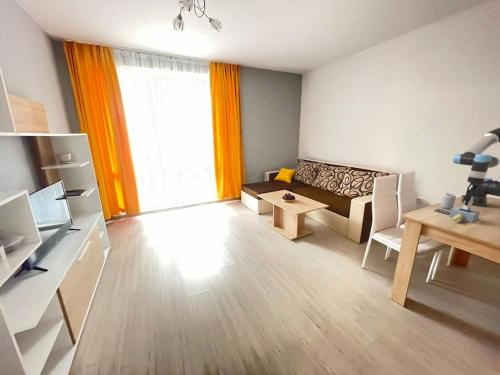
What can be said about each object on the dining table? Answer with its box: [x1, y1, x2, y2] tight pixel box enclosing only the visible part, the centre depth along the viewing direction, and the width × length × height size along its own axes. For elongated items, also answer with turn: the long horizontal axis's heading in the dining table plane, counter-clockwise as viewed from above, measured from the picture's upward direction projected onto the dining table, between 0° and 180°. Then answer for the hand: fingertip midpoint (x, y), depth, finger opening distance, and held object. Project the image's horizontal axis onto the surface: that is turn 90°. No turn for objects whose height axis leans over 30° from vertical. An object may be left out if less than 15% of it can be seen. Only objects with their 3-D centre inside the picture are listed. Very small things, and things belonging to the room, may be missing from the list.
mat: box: [433, 208, 450, 216], centre depth 158 cm, size 8×8×1 cm
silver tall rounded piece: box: [461, 194, 477, 212], centre depth 145 cm, size 4×8×15 cm, turn 29°
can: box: [439, 192, 457, 211], centre depth 164 cm, size 8×8×12 cm
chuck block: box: [448, 205, 481, 224], centre depth 145 cm, size 22×12×6 cm, turn 119°
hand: (466, 208), depth 146 cm, fingers closed on silver tall rounded piece, 4 cm apart
